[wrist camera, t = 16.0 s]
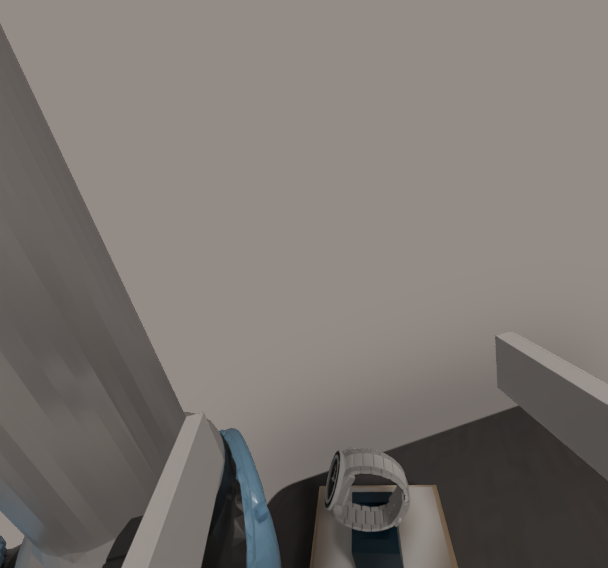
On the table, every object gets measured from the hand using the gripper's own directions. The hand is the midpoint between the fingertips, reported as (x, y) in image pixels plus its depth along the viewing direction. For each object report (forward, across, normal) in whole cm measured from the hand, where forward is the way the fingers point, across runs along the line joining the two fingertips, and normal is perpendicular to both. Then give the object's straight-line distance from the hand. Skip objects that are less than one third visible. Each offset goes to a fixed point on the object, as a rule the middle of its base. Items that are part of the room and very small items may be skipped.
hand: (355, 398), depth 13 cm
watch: (+10, 0, -26) cm, 28 cm away
